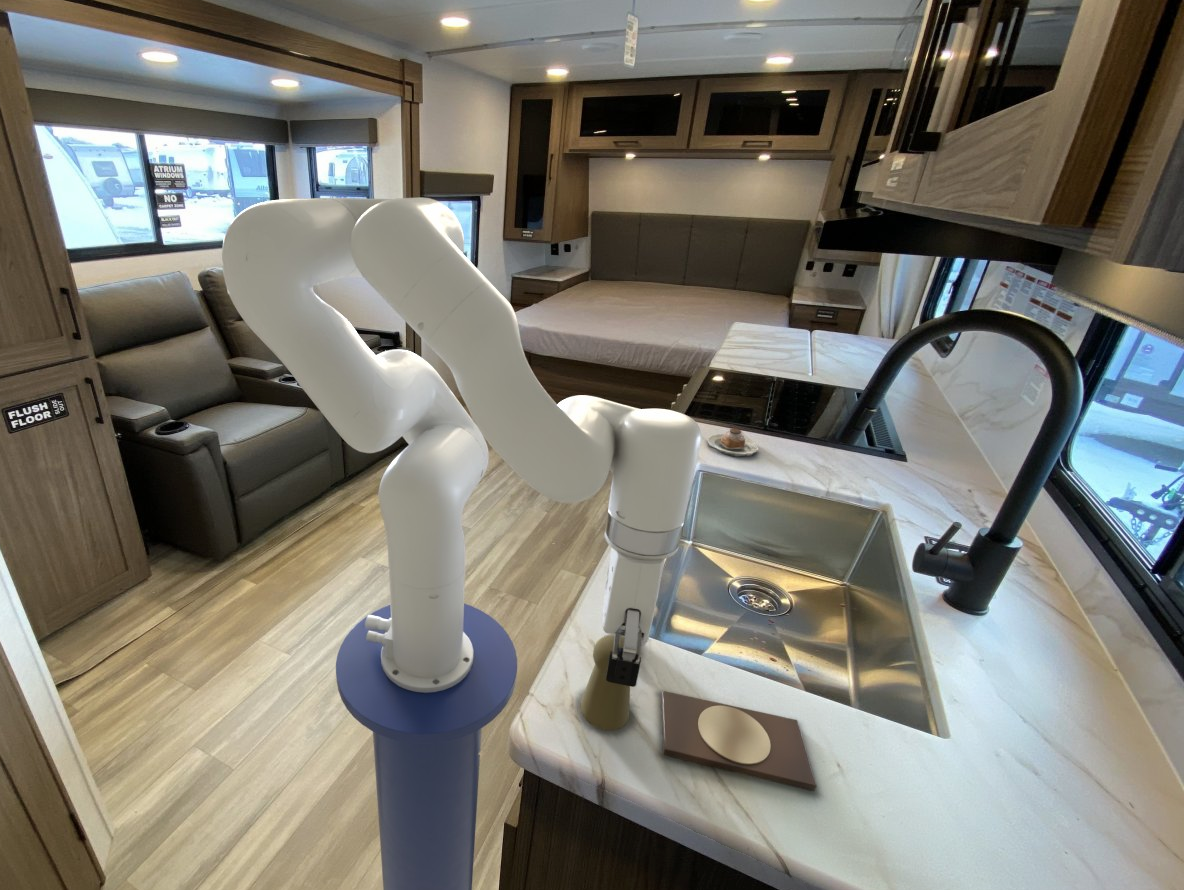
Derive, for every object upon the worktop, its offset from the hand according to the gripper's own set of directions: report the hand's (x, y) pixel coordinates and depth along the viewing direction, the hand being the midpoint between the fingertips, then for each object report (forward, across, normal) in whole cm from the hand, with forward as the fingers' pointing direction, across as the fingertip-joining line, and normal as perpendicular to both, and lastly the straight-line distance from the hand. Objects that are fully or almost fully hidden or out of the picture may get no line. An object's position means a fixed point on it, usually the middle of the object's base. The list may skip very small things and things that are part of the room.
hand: (621, 651), depth 67 cm
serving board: (+10, 0, +14) cm, 18 cm away
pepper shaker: (+10, 0, -1) cm, 10 cm away
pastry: (+11, -93, +26) cm, 97 cm away
